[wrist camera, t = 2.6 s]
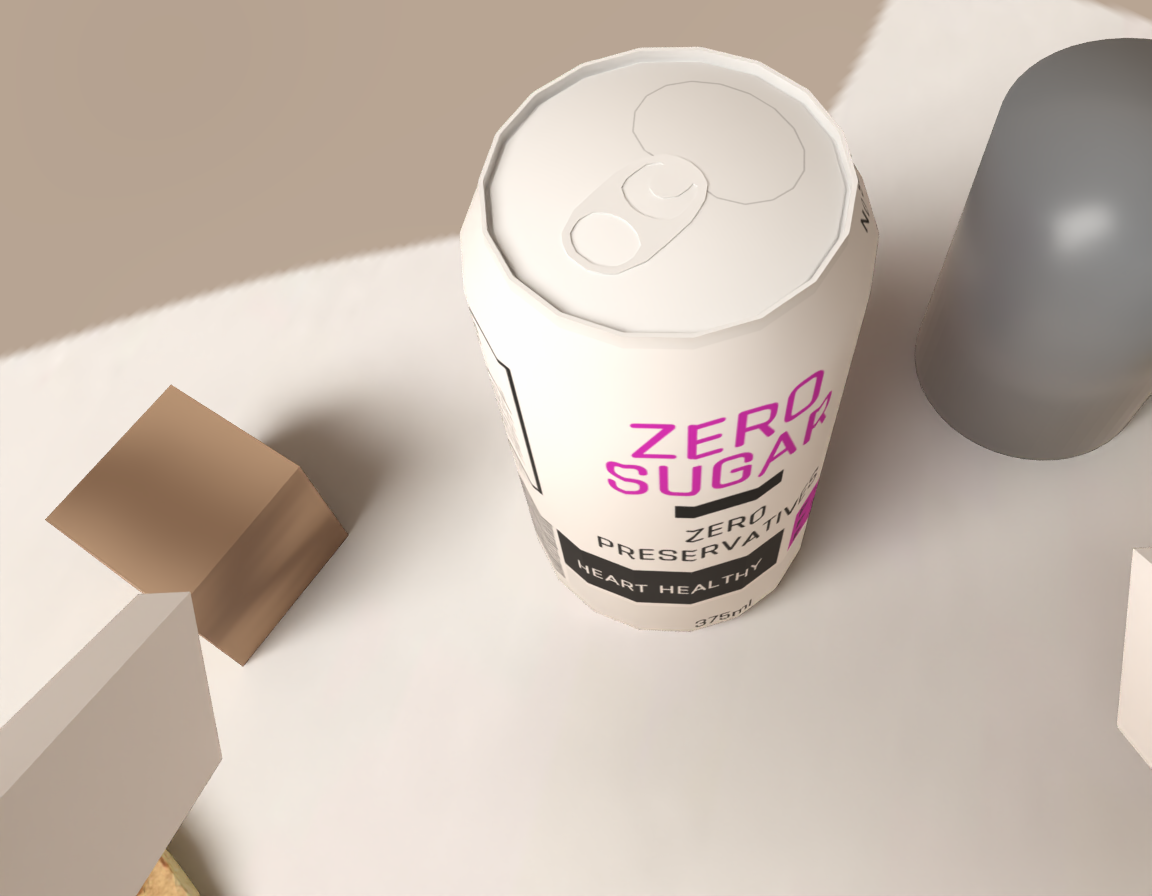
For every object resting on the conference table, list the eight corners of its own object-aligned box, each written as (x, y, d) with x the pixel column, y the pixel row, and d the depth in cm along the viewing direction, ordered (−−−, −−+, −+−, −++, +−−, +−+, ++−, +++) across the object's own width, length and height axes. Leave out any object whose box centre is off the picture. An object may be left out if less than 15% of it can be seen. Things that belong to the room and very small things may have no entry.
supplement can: (658, 353, 36) (647, -32, 22) (858, 503, 32) (985, 160, 19) (483, 519, 33) (357, 200, 20) (681, 697, 30) (686, 459, 17)
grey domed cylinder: (1009, 241, 36) (1116, -2, 28) (1188, 366, 34) (1371, 141, 25) (869, 360, 35) (935, 142, 26) (1046, 503, 32) (1187, 313, 23)
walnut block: (234, 461, 35) (171, 385, 31) (349, 536, 33) (299, 466, 29) (128, 582, 33) (45, 519, 29) (244, 667, 32) (174, 614, 27)
